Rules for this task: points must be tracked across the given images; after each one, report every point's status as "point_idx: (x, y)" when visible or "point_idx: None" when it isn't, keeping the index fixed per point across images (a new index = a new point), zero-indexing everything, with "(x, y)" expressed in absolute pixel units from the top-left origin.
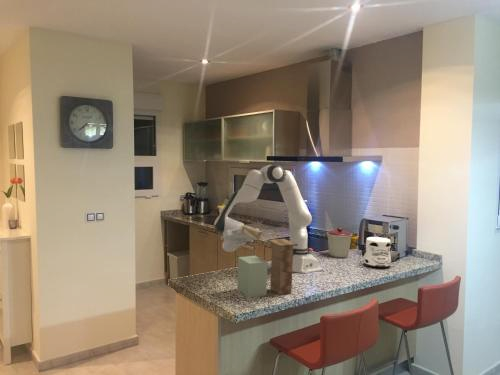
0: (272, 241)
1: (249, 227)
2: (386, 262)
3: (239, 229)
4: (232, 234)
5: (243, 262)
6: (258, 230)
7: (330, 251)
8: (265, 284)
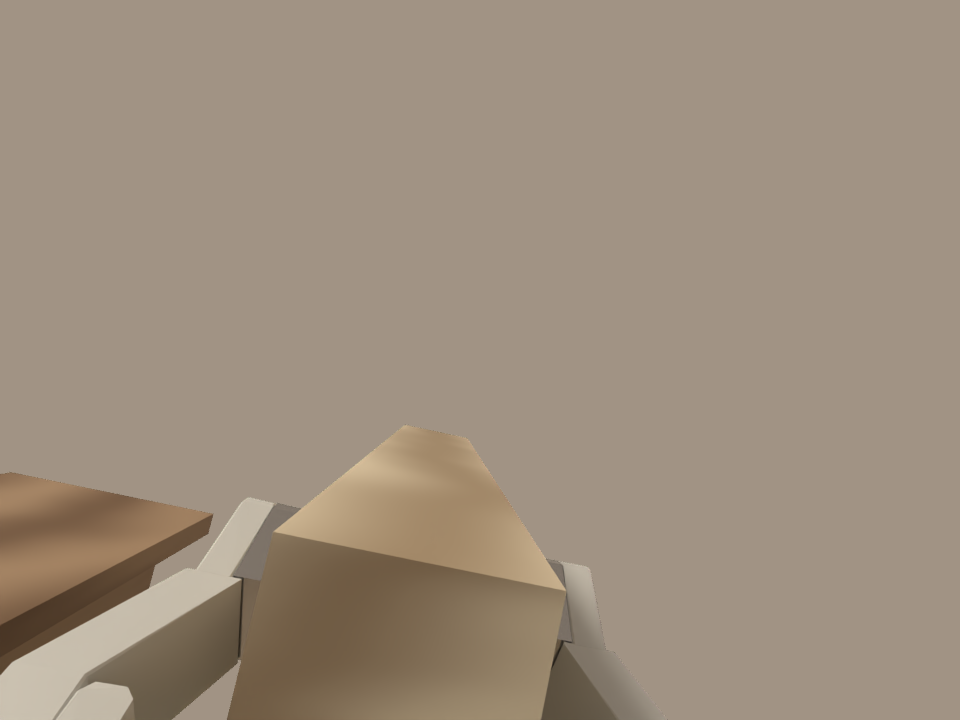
0: (76, 571)
1: (415, 465)
2: None
3: (620, 681)
4: None
5: None
6: (409, 432)
7: None
8: None
